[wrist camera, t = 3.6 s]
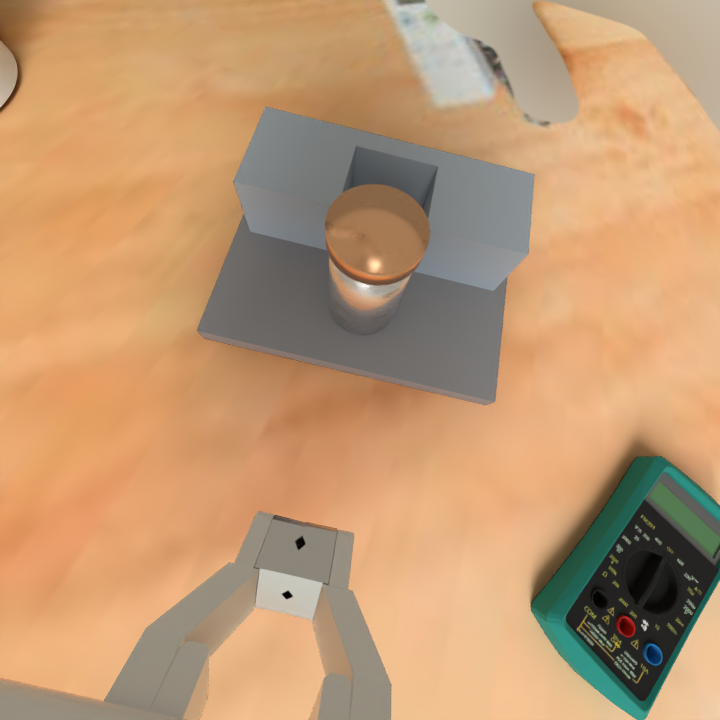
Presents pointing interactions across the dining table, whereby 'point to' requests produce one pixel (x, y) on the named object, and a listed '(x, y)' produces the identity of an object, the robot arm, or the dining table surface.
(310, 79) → the dining table surface
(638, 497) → the digital multimeter
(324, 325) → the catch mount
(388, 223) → the lidded glass jar
